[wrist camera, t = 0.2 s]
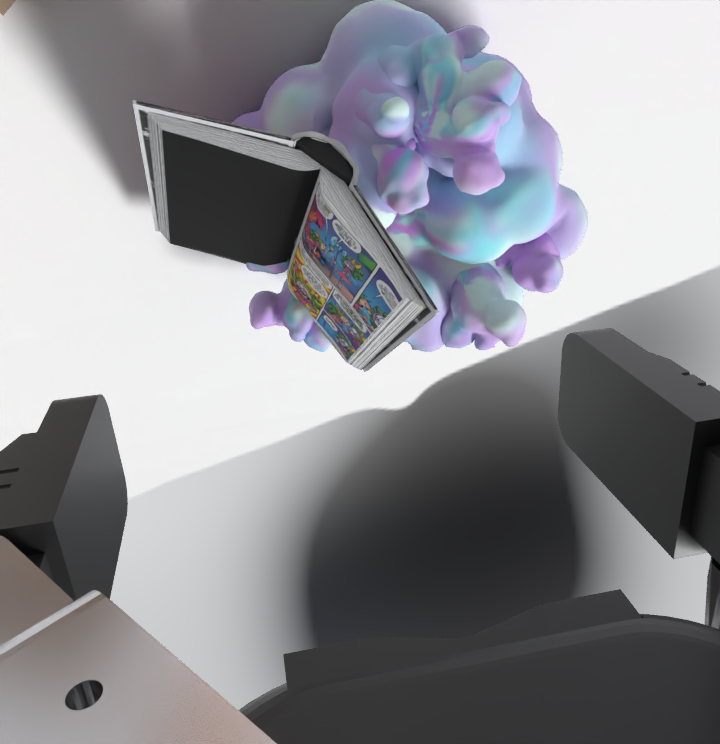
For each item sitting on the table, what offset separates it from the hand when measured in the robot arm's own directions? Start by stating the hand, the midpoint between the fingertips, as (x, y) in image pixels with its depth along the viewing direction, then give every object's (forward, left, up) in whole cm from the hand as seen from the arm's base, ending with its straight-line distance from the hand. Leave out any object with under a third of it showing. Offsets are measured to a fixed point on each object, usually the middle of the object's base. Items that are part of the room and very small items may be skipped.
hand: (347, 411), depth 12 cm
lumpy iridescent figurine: (+12, -3, -31) cm, 34 cm away
